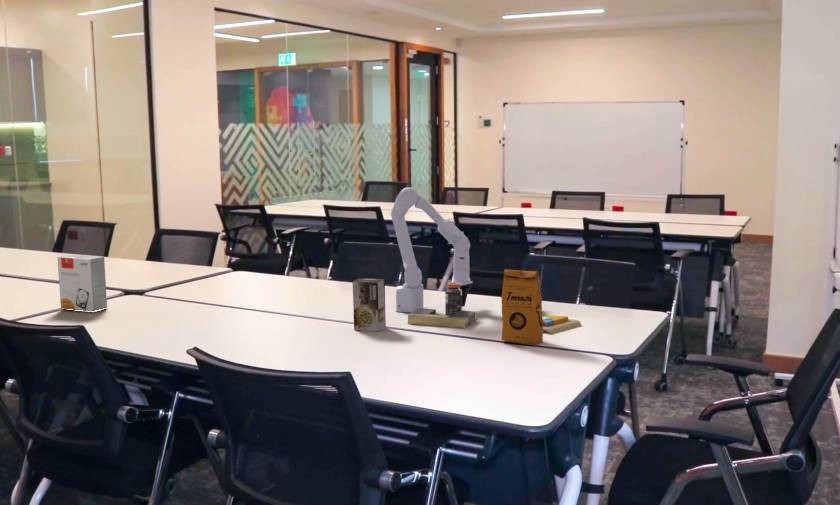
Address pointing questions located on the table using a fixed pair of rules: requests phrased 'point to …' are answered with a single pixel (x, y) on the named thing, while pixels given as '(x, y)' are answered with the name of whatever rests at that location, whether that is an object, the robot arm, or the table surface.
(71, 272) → the hard drive box
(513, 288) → the coffee package
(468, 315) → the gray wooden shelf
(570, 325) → the wooden puzzle
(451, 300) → the pill bottle
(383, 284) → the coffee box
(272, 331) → the table surface
